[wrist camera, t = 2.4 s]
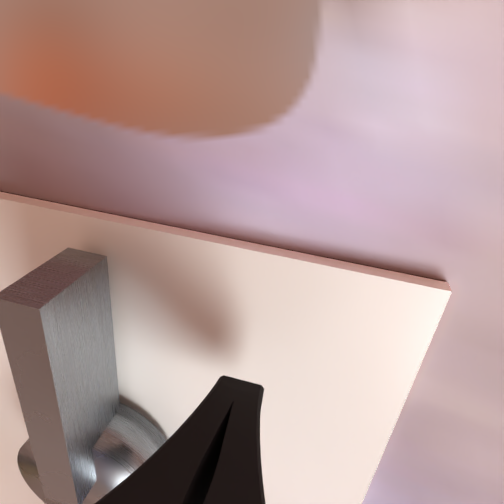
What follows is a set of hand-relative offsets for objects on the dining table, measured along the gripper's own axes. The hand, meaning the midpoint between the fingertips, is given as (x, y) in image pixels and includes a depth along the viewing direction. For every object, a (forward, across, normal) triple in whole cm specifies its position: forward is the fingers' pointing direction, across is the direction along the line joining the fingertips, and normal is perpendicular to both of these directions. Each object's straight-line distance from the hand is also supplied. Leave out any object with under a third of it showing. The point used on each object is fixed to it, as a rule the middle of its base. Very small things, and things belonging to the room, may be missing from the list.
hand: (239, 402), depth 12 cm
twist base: (+2, +6, +6) cm, 9 cm away
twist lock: (+1, +6, +3) cm, 7 cm away
